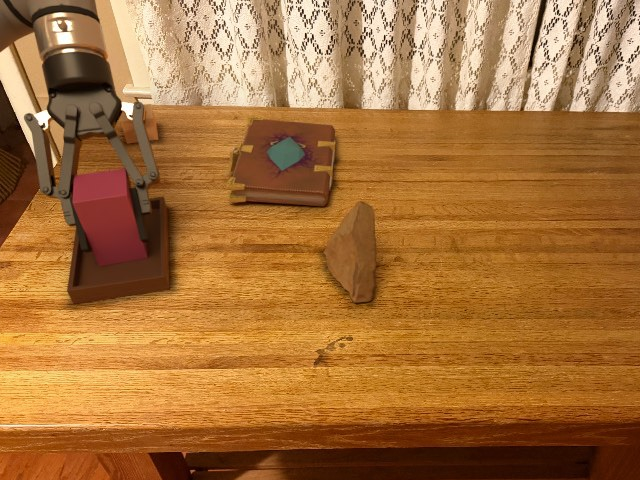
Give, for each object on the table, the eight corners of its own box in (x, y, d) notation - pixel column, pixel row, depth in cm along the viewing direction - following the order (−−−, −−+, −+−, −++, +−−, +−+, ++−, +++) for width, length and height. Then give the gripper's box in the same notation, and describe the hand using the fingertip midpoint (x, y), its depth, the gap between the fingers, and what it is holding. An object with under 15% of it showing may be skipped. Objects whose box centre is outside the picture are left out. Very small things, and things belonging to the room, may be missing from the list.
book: (338, 131, 106) (338, 105, 102) (329, 214, 88) (330, 186, 85) (245, 123, 104) (243, 96, 101) (217, 206, 87) (213, 178, 83)
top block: (99, 266, 75) (72, 202, 68) (99, 238, 79) (73, 174, 72) (148, 258, 77) (127, 194, 70) (146, 230, 81) (125, 167, 74)
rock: (393, 298, 72) (404, 239, 78) (349, 256, 67) (365, 196, 73) (327, 320, 78) (342, 263, 84) (282, 282, 72) (302, 224, 78)
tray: (84, 219, 83) (78, 206, 82) (167, 209, 86) (163, 196, 84) (73, 304, 72) (66, 290, 70) (169, 289, 74) (165, 276, 73)
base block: (126, 143, 98) (120, 121, 95) (126, 129, 101) (119, 107, 98) (158, 139, 99) (152, 117, 96) (156, 125, 102) (151, 103, 100)
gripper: (-25, 56, 66) (21, 257, 67) (152, 41, 72) (193, 228, 72) (1, 81, 74) (42, 262, 74) (160, 66, 79) (197, 236, 80)
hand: (116, 245), depth 73 cm, fingers closed on top block, 6 cm apart
